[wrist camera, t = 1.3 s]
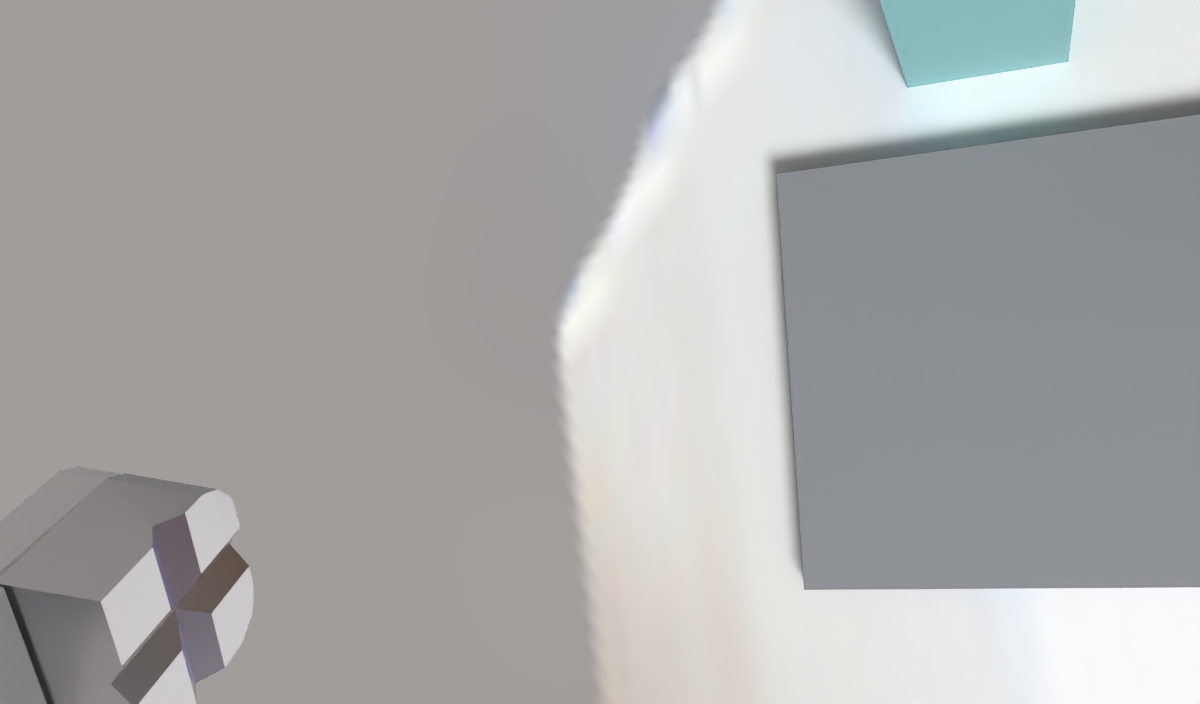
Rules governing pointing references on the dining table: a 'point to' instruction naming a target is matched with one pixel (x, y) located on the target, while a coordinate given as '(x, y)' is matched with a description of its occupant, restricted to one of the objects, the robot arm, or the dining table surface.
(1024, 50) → the lettered block
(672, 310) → the dining table surface
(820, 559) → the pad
